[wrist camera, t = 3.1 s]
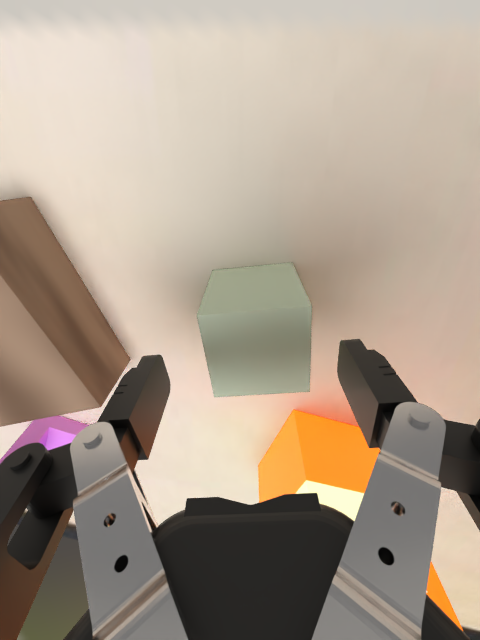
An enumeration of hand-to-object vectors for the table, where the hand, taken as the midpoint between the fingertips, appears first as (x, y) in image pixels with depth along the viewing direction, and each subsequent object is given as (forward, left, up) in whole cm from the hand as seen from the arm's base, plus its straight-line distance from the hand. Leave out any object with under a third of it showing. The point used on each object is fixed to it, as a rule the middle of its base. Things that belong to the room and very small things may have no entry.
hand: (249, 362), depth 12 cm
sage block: (0, 0, -7) cm, 7 cm away
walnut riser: (+16, -1, -7) cm, 17 cm away
